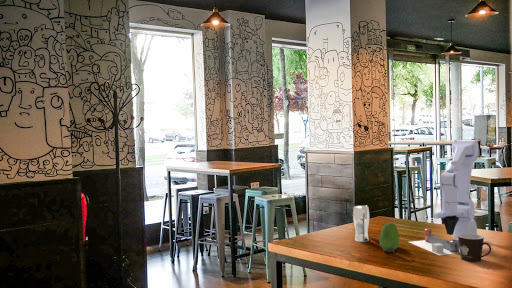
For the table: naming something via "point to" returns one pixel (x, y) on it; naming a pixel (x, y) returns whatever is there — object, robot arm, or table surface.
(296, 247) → the table surface
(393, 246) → the avocado
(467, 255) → the coffee mug
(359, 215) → the beer glass
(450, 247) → the lever
